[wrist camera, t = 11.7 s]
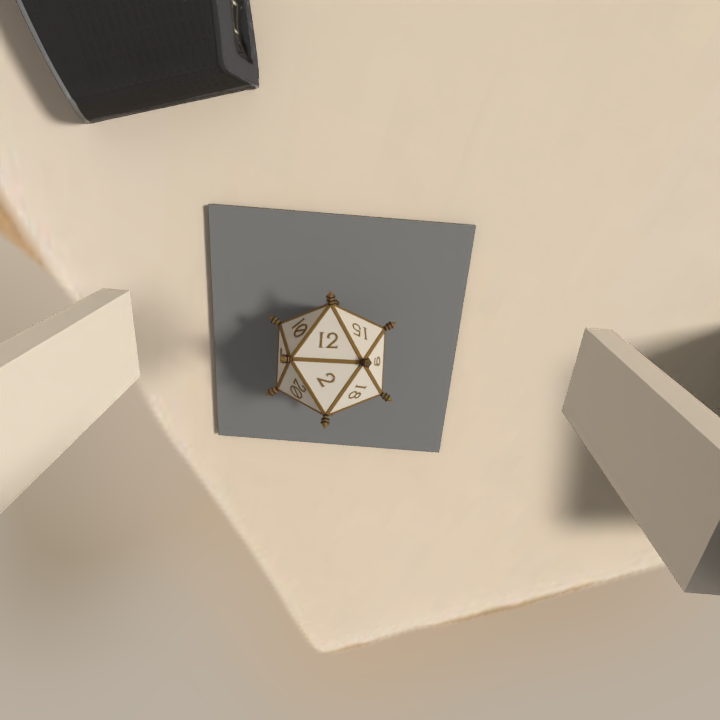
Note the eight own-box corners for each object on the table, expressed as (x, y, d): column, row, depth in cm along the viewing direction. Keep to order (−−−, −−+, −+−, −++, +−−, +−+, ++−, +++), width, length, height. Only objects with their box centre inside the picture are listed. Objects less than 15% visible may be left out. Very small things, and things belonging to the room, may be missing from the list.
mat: (210, 203, 33) (208, 204, 33) (474, 224, 33) (475, 226, 33) (220, 431, 40) (218, 435, 40) (438, 449, 40) (438, 452, 40)
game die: (348, 344, 40) (339, 461, 35) (254, 303, 36) (230, 431, 31) (422, 292, 34) (425, 427, 29) (319, 236, 30) (302, 383, 25)
